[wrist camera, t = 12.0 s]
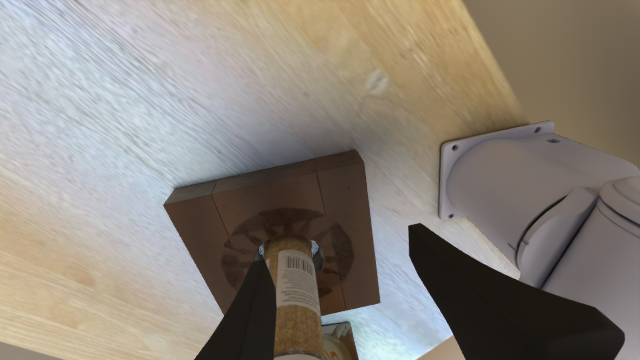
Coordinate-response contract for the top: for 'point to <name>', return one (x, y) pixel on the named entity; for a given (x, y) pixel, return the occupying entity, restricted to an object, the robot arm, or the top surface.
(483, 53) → the top surface
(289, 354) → the sprinkles bottle
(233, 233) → the holder
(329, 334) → the coffee box
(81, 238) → the top surface
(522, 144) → the robot arm
